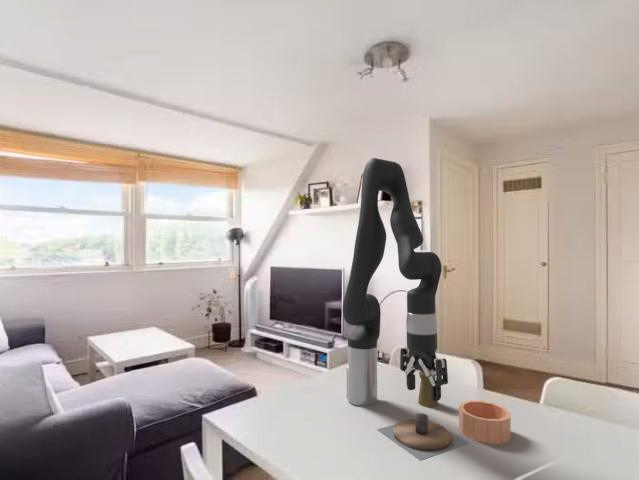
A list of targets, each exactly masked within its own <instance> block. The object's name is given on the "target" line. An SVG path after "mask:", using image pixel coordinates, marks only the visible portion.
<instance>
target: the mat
mask: <svg viewBox="0 0 639 480" xmlns="http://www.w3.org/2000/svg"><path fill="white" fill-rule="evenodd" d="M428 421H431V422H433V421H432V420H430V419H428ZM396 424H397V423H395V424H391V425H388V426H385V427H381V428H378V429H376V431H378V432H379V433H380V434H382V435H383V436H385V437H387V438H388V439H389V440H390V441H392V442H393V443H395V444H396V445H397V446H399V447H400V448H402V449H403V450H404V451H405V452H408V453H409V454H411V456H413V457H414V458H416V459H417V460H419V461H420V462H421V461H424V460H427V459H428V458H432V457H435V456H438V455H441V454H443V453H446V452H449V451H452V450H454V449H456V448H460V447H462V446H466V445H468V444H470V442H469V441H467V440H466V439H464V438H462V437H461V436H460V435H456V434H455V433H453V432H452V431H449V430H448V431H449V432H450V434H451V443H450V445H449V446H448V447H446V448H444V449H441V450H437V451H423V450H417V449H413V448H410V447H407V446H405V445H403V444H402V443H400V442H399V441H398V440H397V439H396V438H395V437H394V434H393V429H394V426H395V425H396Z"/></svg>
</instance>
